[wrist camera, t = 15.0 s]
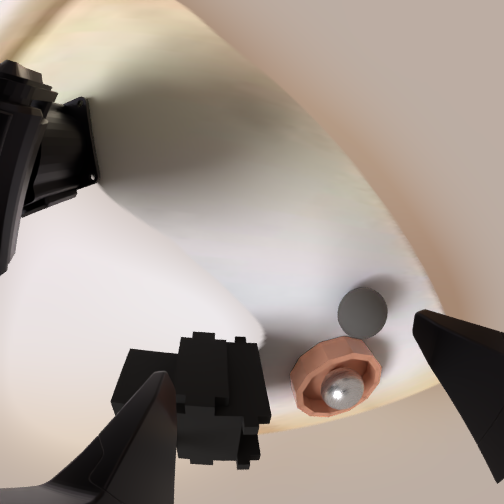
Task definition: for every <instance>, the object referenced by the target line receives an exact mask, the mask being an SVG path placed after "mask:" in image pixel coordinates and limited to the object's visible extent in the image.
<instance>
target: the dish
mask: <svg viewBox="0 0 504 504" xmlns="http://www.w3.org/2000/svg"><path fill="white" fill-rule="evenodd" d="M343 367H346V368H351V369H353V370H355V371H357V372H358V373H359V374H360V376H361V377H362V379H363V382H364V392H363V395H362V397H361V399H360V400H359V402H358V403H357V404H355V405H354V406H352V407H351V408H348V409H343V410H338V409H334V408H331V407H329V406H328V405H327V404H326V403H325V402H324V400H323V399H322V396H321V384H322V381H323V379H324V378H325V376H326V375H327V374H328V373H330V372H331V371H333V370H335V369H337V368H343ZM381 369H382V367H381V365H380V364H379V362H378V361H377V359H376V358H375V357H374V355H373V354H372V352H371V351H370V350H369V348H368V347H367V346H366V344H365V343H364V342H363V341H362V340H361V339H355V338H350V337H345V336H342V337H338V338H335V339H331V340H327V341H324V342H320V343H319V344H317V345H316V346H314V347H313V348H312V349H310V350H309V351H307V352H306V353H305V354H303V355H302V356H300V358H299V359H298V361H297V363H296V365H295V366H294V368H293V370H292V371H291V373H290V379H291V387H292V392H293V395H294V398H295V401H296V405H297V408H299V409H300V410H302V411H303V412H305V413H306V414H308V415H309V416H319V417H330V416H333V415H337V414H340V413H343V412H346V411H349V410H351V409H352V408H354V407H355V406H357V405H358V404H360V403H361V402H363V401H364V400H366V399H367V398H368V397H369V396H370V394H371V393H372V392H373V390H374V389H375V388H376V386H377V385H378V384H379V381H380V375H381Z"/></svg>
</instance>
